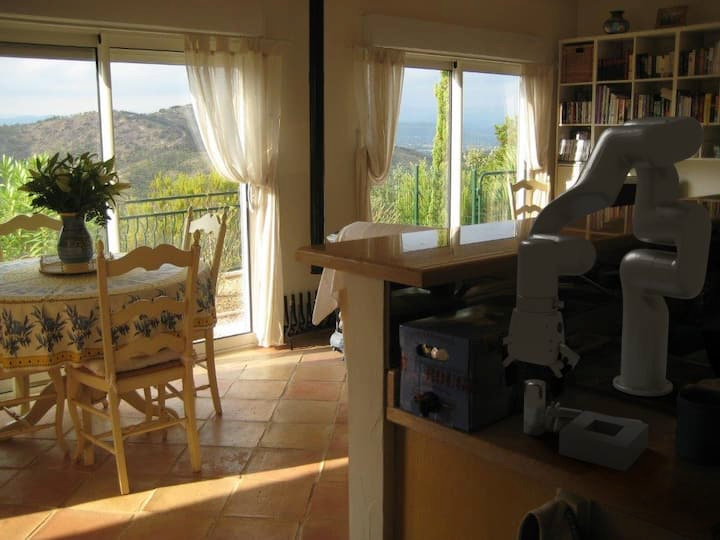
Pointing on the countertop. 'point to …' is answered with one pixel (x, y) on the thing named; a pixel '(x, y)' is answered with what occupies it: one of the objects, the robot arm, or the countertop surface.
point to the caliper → (563, 416)
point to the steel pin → (534, 407)
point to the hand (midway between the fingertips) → (533, 390)
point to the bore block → (604, 440)
